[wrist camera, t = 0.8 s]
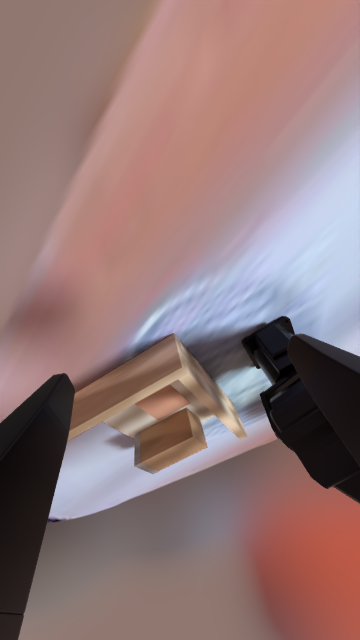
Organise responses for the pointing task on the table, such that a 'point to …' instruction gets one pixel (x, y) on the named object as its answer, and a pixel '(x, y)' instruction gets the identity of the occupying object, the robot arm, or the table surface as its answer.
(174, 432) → the walnut block
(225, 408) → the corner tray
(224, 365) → the table surface
